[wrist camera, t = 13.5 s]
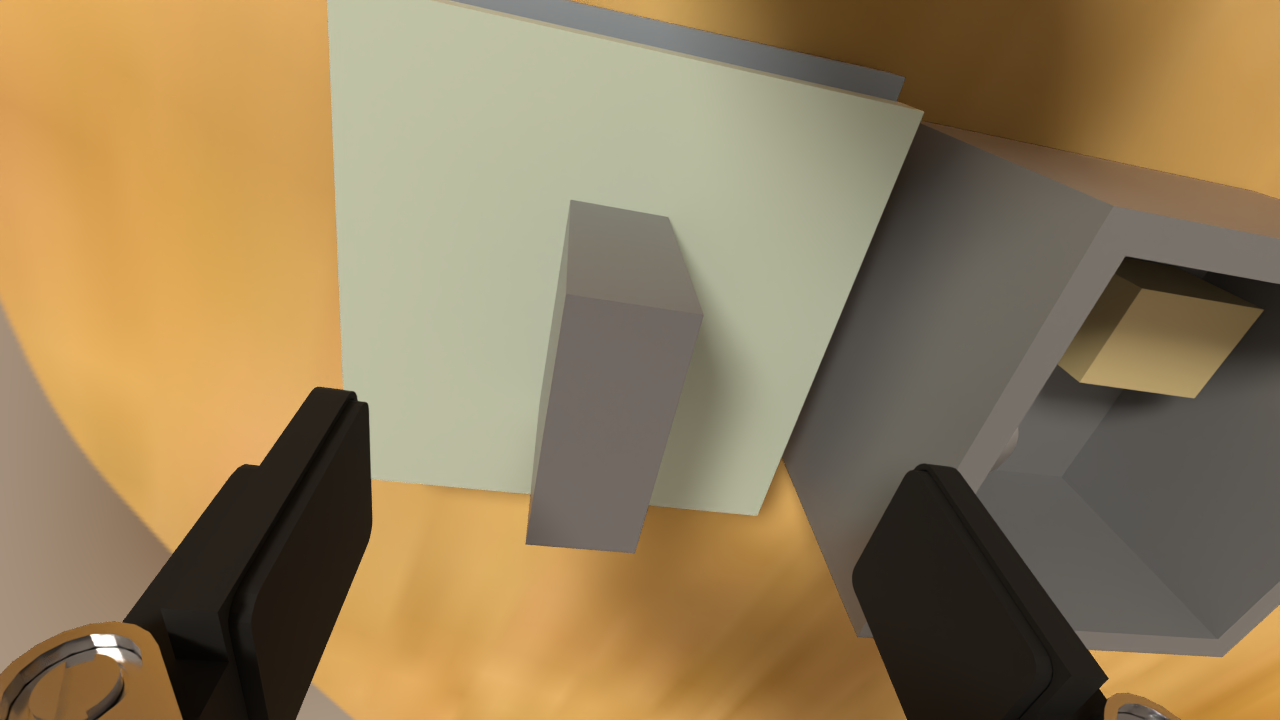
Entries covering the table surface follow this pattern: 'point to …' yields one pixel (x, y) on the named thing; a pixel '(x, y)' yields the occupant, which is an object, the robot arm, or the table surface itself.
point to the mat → (703, 44)
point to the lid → (589, 259)
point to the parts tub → (1066, 384)
